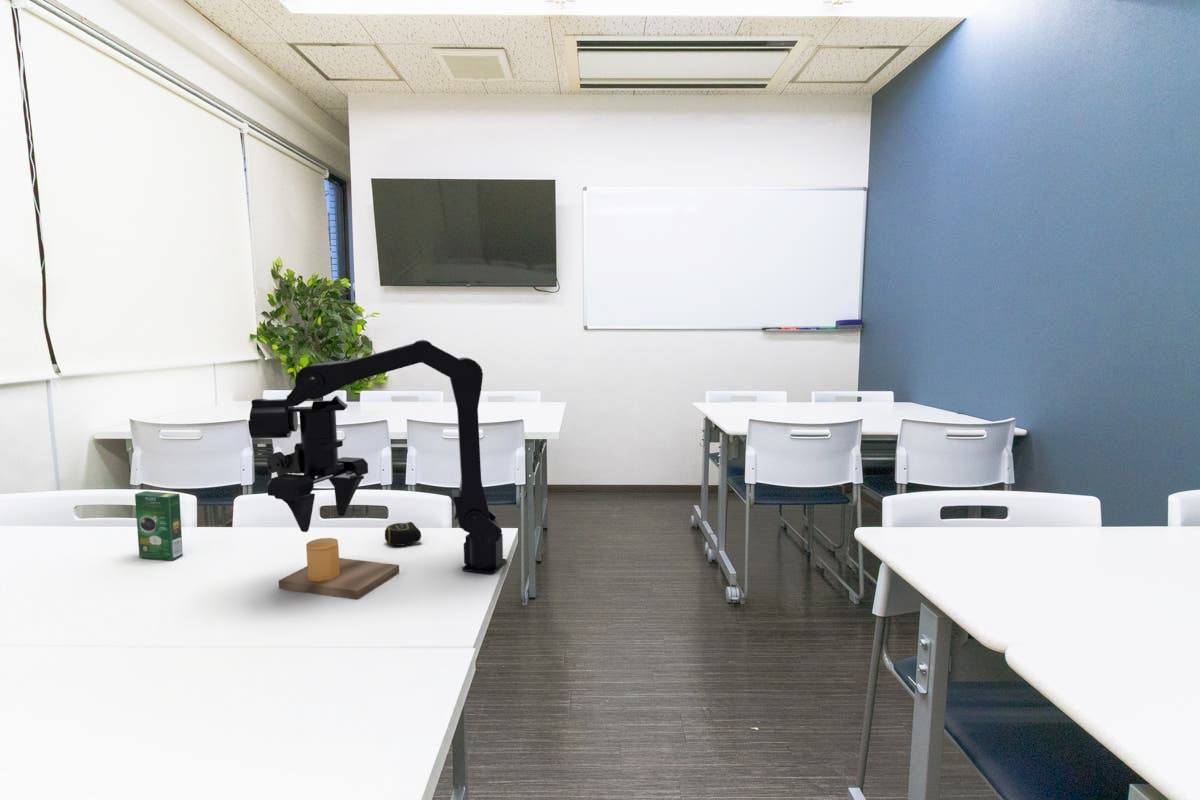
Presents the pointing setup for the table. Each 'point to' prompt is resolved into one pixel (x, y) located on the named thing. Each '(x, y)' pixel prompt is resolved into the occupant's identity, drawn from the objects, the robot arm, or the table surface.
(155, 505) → the coffee box
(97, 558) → the table surface
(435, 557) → the table surface
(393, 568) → the wooden board with peg
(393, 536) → the tape measure
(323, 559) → the orange wooden cylinder
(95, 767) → the table surface
